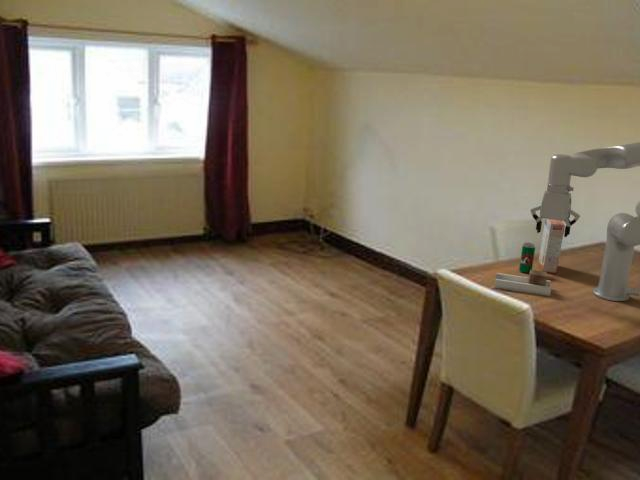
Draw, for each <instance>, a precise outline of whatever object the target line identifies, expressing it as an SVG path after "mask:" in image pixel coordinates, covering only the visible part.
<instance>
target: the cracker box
mask: <svg viewBox="0 0 640 480" xmlns="http://www.w3.org/2000/svg"><path fill="white" fill-rule="evenodd" d="M544 219H545V218H544ZM565 227H566V224H565V223H564V221H563V222H562V221H559V220H552V219H545V220H544V226H543V233H542V238H541V244H540V249H539V250H540V251H539V256H538V261H537V262H538V264H539V266H540V269H541V271H543V272H547V273H550V274H557V271H558V267H559V266H558V265H559V262H560V256H561V251H562V244H563V238H564V233H565Z"/></svg>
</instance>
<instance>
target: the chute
mask: <svg viewBox="0 0 640 480" xmlns="http://www.w3.org/2000/svg"><path fill="white" fill-rule="evenodd" d="M528 280H529V276H520V275H515V274H514V275H513V274H509V273H508V274H507V273H500V272H496V275H495V281H494V289H500V290H501V289H502V290H507V291H514V292H522V293H526V294H534V295H540V296H547V297H550V296H551V293H552V287H551V282H552V281H551V280H546V286H541V285H534V284H528Z"/></svg>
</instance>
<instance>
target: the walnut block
mask: <svg viewBox="0 0 640 480" xmlns="http://www.w3.org/2000/svg"><path fill="white" fill-rule="evenodd" d="M528 274H529V275H528V277H529V280H528V284H534V285H541V286H546V280H547V278H548V272H543V271H542V270H535V269H532V270H530V273H528Z"/></svg>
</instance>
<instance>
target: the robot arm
mask: <svg viewBox="0 0 640 480" xmlns="http://www.w3.org/2000/svg"><path fill="white" fill-rule="evenodd" d="M636 167H640V141H637V142H632V143H627V144H621V145H615V146H607V147H598V148H593V149H589V150H584V151H580V152H576V153H573V154H572V155H568V154H562V153H560V154H558V153H557V154H553V155H552V156H551V157H550V162H549V170H548V178H547V179H548V180H547V187H546V190H545V191H544V193H543V197H542V200H541V203H540V205H539V206H536V207H533V208H530V214H531V215H532V218H533V219H534V220H535V222H536V225H535V230H536V233H537V234H539V233H541V232H542V225H543V222H542V220H543V219H552V220H559V221H563V223H564V224H565V229H564V234H563V238H567V237H568V236H569V235H570V233H571V226H573V225H574V224H575V223H576V222H578V221H579V218H580V217H581V215H580V214H579V213H577V212H576V211H574V210H573V209H572V193H571V192H574V189H575V188H574V187H572V186H571V179H572V178H571V177H579V178H589V177H592V176H594V175H595V174H596V172H597V170H598V169H617V170H626V169H632V168H633V169H634V168H636ZM537 211H539V215H538V214H537ZM635 213H636V216H633V215H632V214H630V213H627V212H626V213H625V212H618V213H617V214H614V215H612V217H611V218H609V220H608V222H607V227H606V243H605V249H604V255H603V260H602V265H601V270H600V275H599V280H598V286H596V287H594V288H593V289H592V294H593V295H595V296H596V297H599V298H600V299H603V300H608V301H613V302H614V301H615V302H626V301H628V300H629V299H630V295H632V296H638V297H639V296H640V290H637V289H636V288H630V287H629V286H628V282H629V281H628V280H629V277H630V273H631V267H632V261H633V257H634V251H635V247H636V246H640V201H638V202H637V204H636V206H635ZM571 216H572V217H574V218H573V219H572V220H570V217H571Z"/></svg>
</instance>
